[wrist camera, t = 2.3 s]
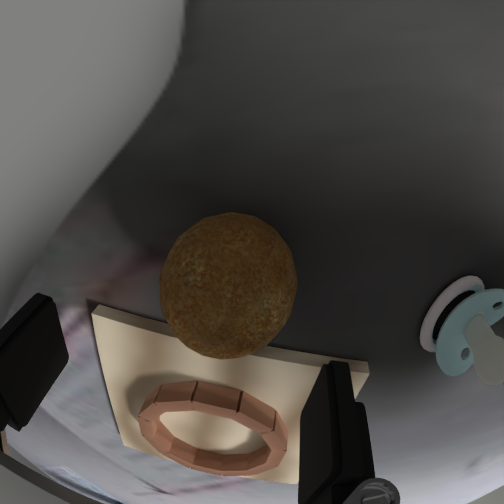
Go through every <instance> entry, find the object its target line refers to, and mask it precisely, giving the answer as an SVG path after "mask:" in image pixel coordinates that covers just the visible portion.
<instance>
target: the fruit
mask: <svg viewBox="0 0 504 504" xmlns="http://www.w3.org/2000/svg"><path fill="white" fill-rule="evenodd" d="M297 286H298V280H297V273H296V269H295V264H294V260H293V256H292V251H291V250H290V248H289V247H288V245H287V244H286V243H285V241H284V240H283V239H282V237H281V236H280V235H279V233H278V232H277V231H276V229H275V228H274V227H272V226H271V225H269V224H267V223H266V222H264V221H262V220H261V219H259V218H257V217H256V216H253V215H247V214H241V213H235V212H228V213H224V214H219V215H215V216H210V217H206V218H203V219H201V220H200V221H199V222H197V223H196V224H195V225H193V226H192V227H191V228H189V229H188V230H187V231H185V232H184V233H183V234H182V235H180V236H179V237H178V238H177V239H176V241H175V243H174V245H173V246H172V248H171V250H170V252H169V254H168V256H167V258H166V260H165V262H164V264H163V267H162V269H161V275H160V303H161V309H162V312H163V314H164V317H165V319H166V321H167V323H168V325H169V327H170V329H171V330H172V332H173V333H174V335H175V336H176V337H177V338H178V339H179V340H180V341H181V342H182V343H183V344H184V345H185V346H186V347H187V348H189V349H191V350H193V351H195V352H197V353H199V354H200V355H202V356H206V357H211V358H215V359H220V360H222V359H234V358H240V357H244V356H247V355H249V354H251V353H253V352H255V351H258V350H260V349H262V348H264V347H265V346H266V345H267V344H268V343H270V342H271V341H272V340H273V338H274V337H275V336H276V335H277V334H278V333H279V332H280V330H281V329H282V328H283V327H284V326H285V324H286V323H287V321H288V319H289V317H290V316H291V312H292V308H293V304H294V300H295V296H296V291H297Z"/></svg>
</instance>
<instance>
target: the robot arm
mask: <svg viewBox="0 0 504 504" xmlns="http://www.w3.org/2000/svg"><path fill="white" fill-rule="evenodd" d="M68 359H69V355H68V351H67V347H66V344H65V340H64V337H63V333H62V329H61V325H60V321H59V317H58V313H57V308H56V304H55V303H54V302H53V299H52V298H51V297H49V296H46V295H43V294H40V293H36V294H35V295H34V296H33V297H32V298H31V299H30V300H29V301H28V302H27V303H26V304H25V305H24V306H23V307H22V308H21V309H20V310H19V311H18V312H17V313H16V314H15V315H14V316H13V317H12V318H11V319H10V320H9V321H8V322H7V323H6V324H5V325H4V326H3V327H2V328H1V329H0V504H103V503H100V502H98V501H96V500H93V499H91V498H88V497H86V496H84V495H81V494H79V493H77V492H75V491H73V490H70V489H68V488H66V487H64V486H62V485H60V484H58V483H56V482H54V481H52V480H50V479H48V478H46V477H44V476H42V475H41V474H39V473H37V472H35V471H33V470H32V469H30V468H28V467H26V466H25V465H23V464H21V463H20V462H18V461H16V460H15V459H13V458H11V457H10V456H9V451H8V445H7V439H6V432H5V427H6V425H7V424H8V425H9V426H10V427H12V428H14V429H15V430H17V431H19V432H20V430H21V428H22V427H24V426H26V425H27V424H28V422H29V421H30V419H31V417H32V416H33V414H34V413H35V411H36V410H37V408H38V406H39V405H40V403H41V402H42V400H43V399H44V397H45V396H46V394H47V392H48V391H49V389H50V388H51V386H52V385H53V383H54V382H55V380H56V379H57V377H58V376H59V374H60V373H61V372H62V370H63V369H64V367H65V366H66V364H67V362H68ZM298 504H400V495H399V492H398V490H397V488H396V487H395V486H394V485H393V484H392V483H391V482H390V481H387V480H385V479H382V478H375V471H374V463H373V456H372V449H371V442H370V435H369V429H368V422H367V416H366V410H365V406H364V404H363V403H361V402H355V398H354V391H353V385H352V379H351V373H350V367H349V363H348V362H343V361H335V360H330V361H329V363H328V364H323V365H322V368H321V370H320V372H319V374H318V377H317V379H316V381H315V384H314V386H313V388H312V390H311V392H310V395H309V397H308V399H307V401H306V403H305V405H304V407H303V409H302V412H301V416H300V451H299V489H298Z"/></svg>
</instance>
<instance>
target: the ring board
mask: <svg viewBox="0 0 504 504" xmlns="http://www.w3.org/2000/svg"><path fill="white" fill-rule="evenodd" d="M92 319H93V325H94V331H95V336H96V341H97V346H98V351H99V356H100V360H101V365H102V369H103V373H104V377H105V381H106V385H107V389H108V393H109V397H110V401H111V404H112V408H113V411H114V415H115V418H116V422H117V425H118V428H119V431H120V434H121V437H122V441H123V444H124V445H125V446H128V447H131V448H134V449H136V450H139V451H142V452H145V453H148V454H151V455H155V456H158V457H161V458H164V459H168V460H171V461H175V462H178V463H180V464H182V465H184V466H186V467H188V468H189V467H191V469H194V470H198V471H203V472H207V473H211V474H216V475H221V476H222V475H223V476H240V477H246V478H252V479H258V480H265V481H273V482H281V483H290V484H297V483H298V482H299V451H300V416H301V412H302V409H303V407H304V405H305V403H306V401H307V399H308V397H309V395H310V392H311V390H312V388H313V386H314V384H315V381H316V379H317V377H318V374H319V372H320V370H321V368H322V365H323V364H328V363H329V361H330V360H335V361H343V362H348V363H349V367H350V373H351V379H352V385H353V391H354V398H356V397H357V395H358V393H359V392H360V390H361V388H362V386H363V385H364V383H365V381H366V379H367V378H368V376H369V374H370V372H369V367H368V362H366V361H358V360H350V359H343V358H336V357H329V356H323V355H316V354H310V353H304V352H298V351H292V350H287V349H281V348H276V347H270V346H265V347H264V348H262V349H260V350H258V351H255V352H253V353H251V354H249V355H247V356H244V357H240V358H234V359H222V360H220V359H215V358H211V357H206V356H202V355H200V354H199V353H197V352H195V351H193V350H191V349H189V348H187V347H186V346H185V345H184V344H183V343H182V342H181V341H180V340H179V339H178V338H177V337H176V336H175V335H174V333H173V332H172V330H171V329H170V327H169V325H168V324H167V323H163V322H160V321H156V320H152V319H148V318H145V317H141V316H137V315H134V314H130V313H127V312H123V311H120V310H116V309H113V308H110V307H106V306H103V305H100V304H99V305H98V306H97V307H96V309H95V310H94V311H93V312H92Z"/></svg>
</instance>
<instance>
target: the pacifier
mask: <svg viewBox="0 0 504 504" xmlns="http://www.w3.org/2000/svg"><path fill="white" fill-rule="evenodd" d="M468 290H474V291H475V294H473V295H471V296H469V297H467V298H466V299H465V300H463V301H462V302H461V303H459V304H458V305H457V306H456V307H455V308H454V309H453V310H452V312H451V313H450V314H449V315H448V317H447V318H446V320H445V322H444V323H443V325H442V327H441V329H440V332H439V335H438V338H437V340H434V339H432V333H433V328H434V326H435V323H436V321H437V319H438V317H439V315H440V314H441V312H442V311H443V310H444V308H445V307H446V306H447V305H448V304H449V303H450V302H451V301H452V300H453V299H454V298H455V297H456V296H458V295H459V294H461V293H463V292H465V291H468ZM497 302H502V304H501V305H500V306H498V307H493V305H494V304H495V303H497ZM503 316H504V289H496V288H495V289H487V290H484V284H483V282H482V280H481V279H480V278H478V277H477V276H466V277H462V278H460V279H458V280H457V281H455V282H453V283H452V284H451V285H450V286H448V287H447V288H446V289H445V290H444V291H443V292H442V293H441V294H440V295H439V296H438V298H437V299H436V300H435V302H434V303H433V304H432V306H431V307H430V309H429V311H428V313H427V314H426V316H425V318H424V321H423V324H422V327H421V332H420V342H421V345H422V347H423V348H424V349H425V350H427V351H429V352H436V360H437V363H438V365H439V367H440V368H441V370H442V371H443V372H444V373H445V374H446V375H448V376H452V377H453V376H458V375H461V374H463V373H464V372H465V371H466V370H468V369H469V368H470V366H471V365H472V364H473V363H474V369H475V373H476V375H477V377H478V378H479V380H480V381H481V382H482V383H484V384H485V385H488V386H497V385H499V384H501V383H503V382H504V339H503V338H501V337H499V336H496V335H495V334H494V332H493V330H492V329H491V327H490V326H491V325H493V324H494V323H496V322H497V321H498V320H500V319H501V318H502V317H503ZM465 348H469V351H468V354H467V355H466V356H465V357H461V352H462V351H463V349H465Z"/></svg>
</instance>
